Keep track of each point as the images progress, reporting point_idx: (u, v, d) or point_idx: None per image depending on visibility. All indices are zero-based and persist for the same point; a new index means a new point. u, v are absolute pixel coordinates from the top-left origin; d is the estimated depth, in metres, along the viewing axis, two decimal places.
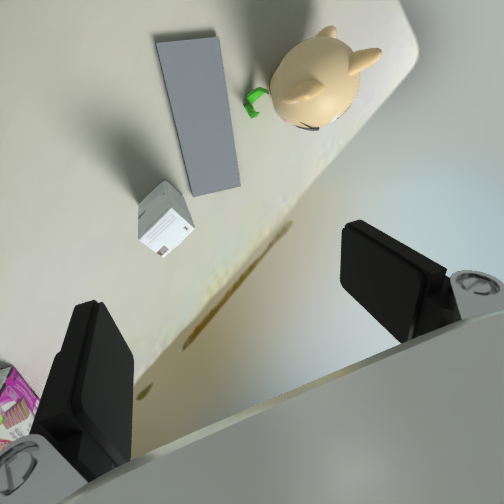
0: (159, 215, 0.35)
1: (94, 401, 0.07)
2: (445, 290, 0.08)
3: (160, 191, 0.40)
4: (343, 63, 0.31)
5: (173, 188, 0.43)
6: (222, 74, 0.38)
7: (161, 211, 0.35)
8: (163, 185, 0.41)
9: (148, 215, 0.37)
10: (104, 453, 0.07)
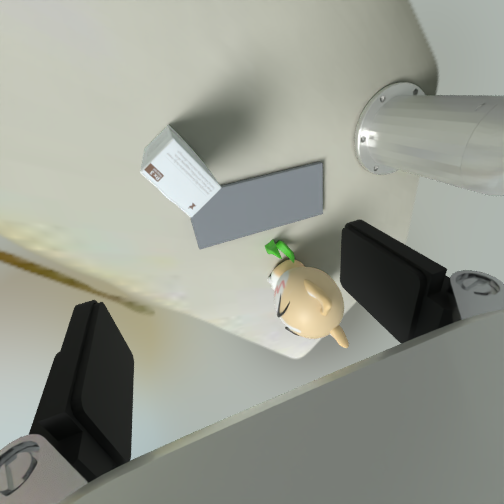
0: None
1: (94, 401, 0.07)
2: (445, 290, 0.08)
3: (200, 160, 0.32)
4: (338, 322, 0.39)
5: None
6: (299, 219, 0.43)
7: None
8: None
9: (188, 149, 0.27)
10: (104, 453, 0.07)
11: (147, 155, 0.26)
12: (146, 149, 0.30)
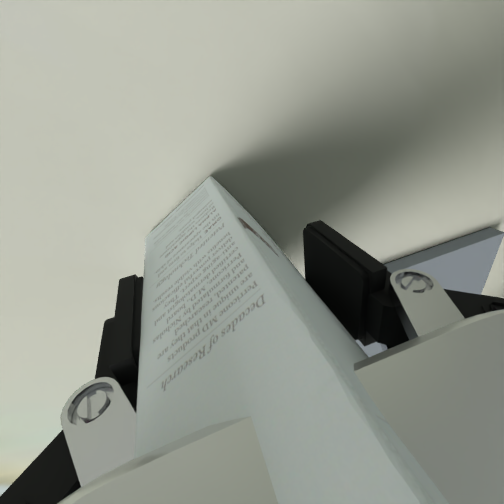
0: None
1: None
2: (388, 288, 0.08)
3: None
4: None
5: None
6: None
7: None
8: None
9: (327, 318, 0.07)
10: None
11: (160, 354, 0.06)
12: (152, 258, 0.10)
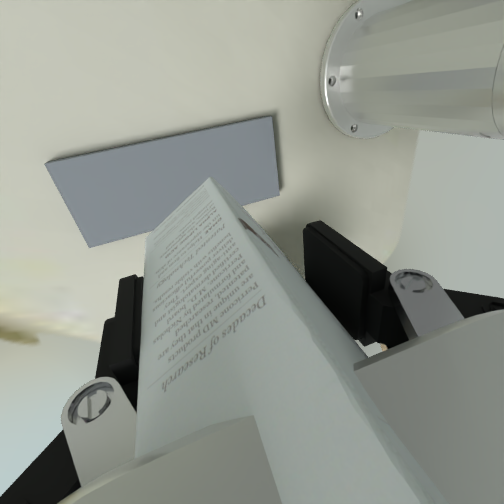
0: None
1: None
2: (388, 288, 0.08)
3: None
4: None
5: None
6: (244, 202, 0.30)
7: None
8: None
9: (328, 319, 0.07)
10: None
11: (161, 355, 0.06)
12: (152, 258, 0.10)
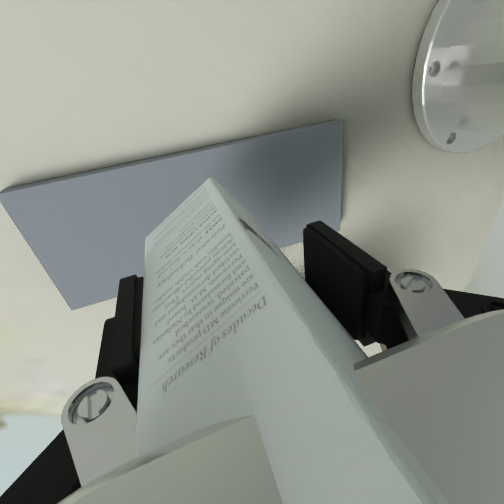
0: None
1: None
2: (388, 288, 0.08)
3: None
4: None
5: None
6: (292, 241, 0.21)
7: None
8: None
9: (328, 320, 0.07)
10: None
11: (161, 355, 0.06)
12: (152, 258, 0.10)
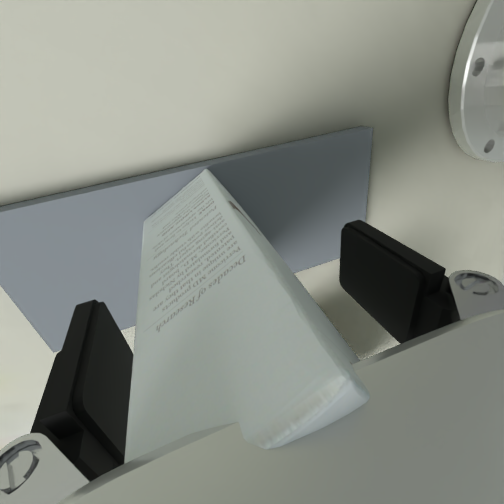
0: None
1: (95, 400, 0.07)
2: (444, 290, 0.08)
3: None
4: None
5: None
6: (309, 264, 0.19)
7: None
8: None
9: (299, 285, 0.08)
10: (105, 452, 0.07)
11: (156, 307, 0.07)
12: (150, 237, 0.11)
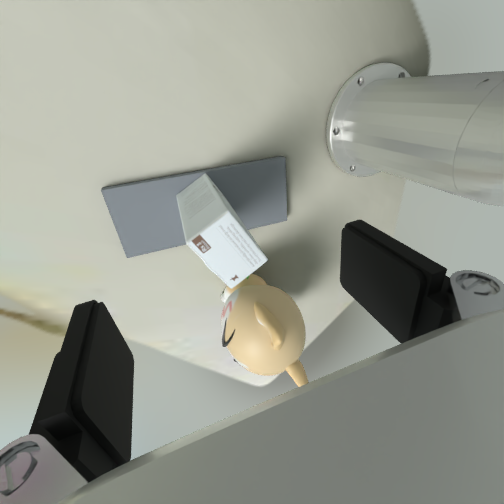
0: None
1: (94, 401, 0.07)
2: (445, 290, 0.08)
3: None
4: (295, 358, 0.31)
5: None
6: (257, 225, 0.35)
7: None
8: None
9: (233, 211, 0.25)
10: (104, 453, 0.07)
11: (188, 214, 0.24)
12: (181, 199, 0.28)
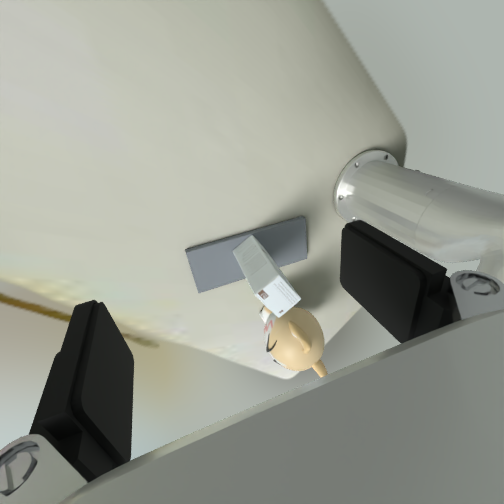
0: None
1: (94, 401, 0.07)
2: (445, 290, 0.08)
3: None
4: (318, 358, 0.45)
5: None
6: (286, 263, 0.49)
7: None
8: None
9: (277, 267, 0.38)
10: (104, 453, 0.07)
11: (249, 271, 0.38)
12: (238, 256, 0.42)
